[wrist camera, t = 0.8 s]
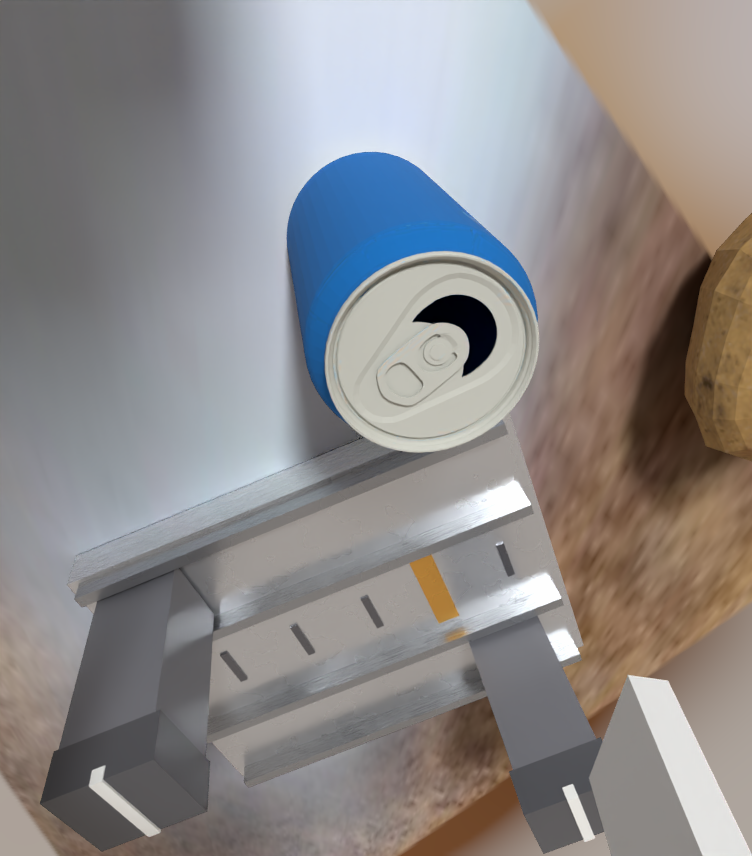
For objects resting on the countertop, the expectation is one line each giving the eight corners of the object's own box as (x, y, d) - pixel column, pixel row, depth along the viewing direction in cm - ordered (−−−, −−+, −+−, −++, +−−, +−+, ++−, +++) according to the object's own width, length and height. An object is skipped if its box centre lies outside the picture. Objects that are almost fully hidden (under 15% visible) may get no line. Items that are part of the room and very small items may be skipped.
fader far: (462, 635, 38) (524, 817, 29) (536, 606, 37) (621, 781, 29) (481, 675, 40) (544, 856, 31) (552, 648, 39) (635, 823, 31)
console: (76, 555, 34) (61, 600, 31) (493, 383, 32) (514, 415, 30) (243, 746, 43) (242, 792, 41) (570, 619, 42) (590, 658, 39)
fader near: (94, 596, 32) (38, 806, 24) (178, 561, 32) (152, 761, 23) (138, 645, 34) (101, 855, 26) (218, 613, 34) (207, 814, 25)
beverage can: (474, 238, 28) (599, 363, 18) (357, 338, 30) (413, 504, 20) (376, 109, 25) (461, 174, 15) (251, 228, 27) (252, 359, 17)
